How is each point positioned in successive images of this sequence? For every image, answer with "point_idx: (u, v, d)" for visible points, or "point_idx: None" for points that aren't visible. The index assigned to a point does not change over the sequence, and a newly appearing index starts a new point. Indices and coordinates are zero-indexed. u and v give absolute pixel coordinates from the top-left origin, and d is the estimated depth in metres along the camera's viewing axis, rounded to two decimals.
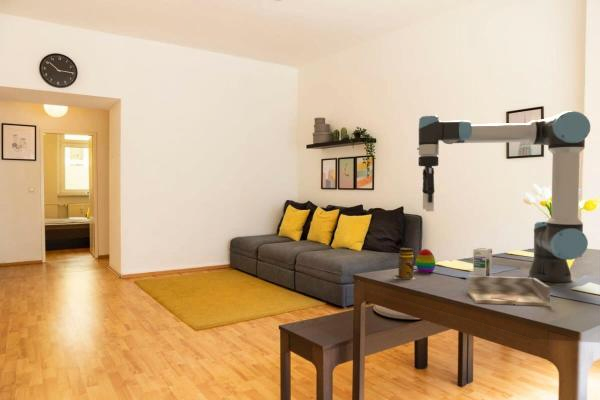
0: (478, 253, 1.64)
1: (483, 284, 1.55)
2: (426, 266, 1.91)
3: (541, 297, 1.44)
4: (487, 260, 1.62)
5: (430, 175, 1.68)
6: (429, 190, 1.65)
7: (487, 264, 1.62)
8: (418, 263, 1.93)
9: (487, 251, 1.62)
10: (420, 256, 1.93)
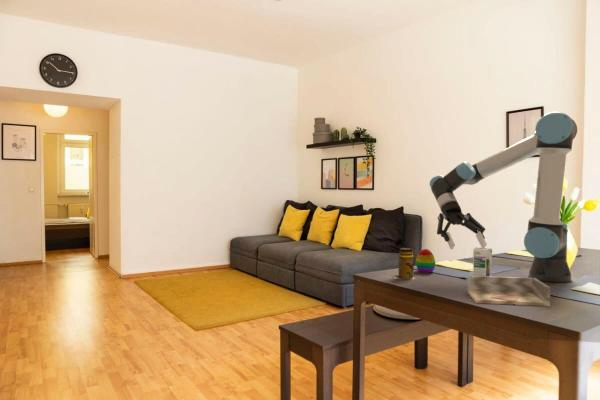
0: (478, 253, 1.64)
1: (483, 284, 1.55)
2: (426, 266, 1.91)
3: (541, 297, 1.44)
4: (487, 260, 1.62)
5: (439, 220, 1.81)
6: (437, 232, 1.77)
7: (487, 264, 1.62)
8: (418, 263, 1.93)
9: (487, 251, 1.62)
10: (420, 256, 1.93)
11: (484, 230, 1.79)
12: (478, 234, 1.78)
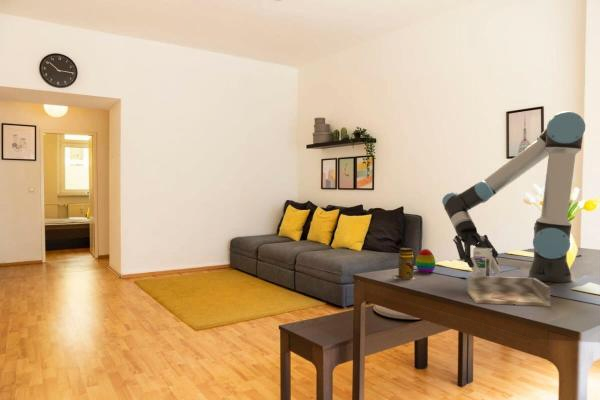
0: (478, 253, 1.64)
1: (483, 284, 1.55)
2: (426, 266, 1.91)
3: (541, 297, 1.44)
4: (487, 260, 1.62)
5: (457, 243, 1.71)
6: (460, 257, 1.67)
7: (487, 264, 1.62)
8: (418, 263, 1.93)
9: (487, 251, 1.62)
10: (420, 256, 1.93)
11: (497, 255, 1.68)
12: None
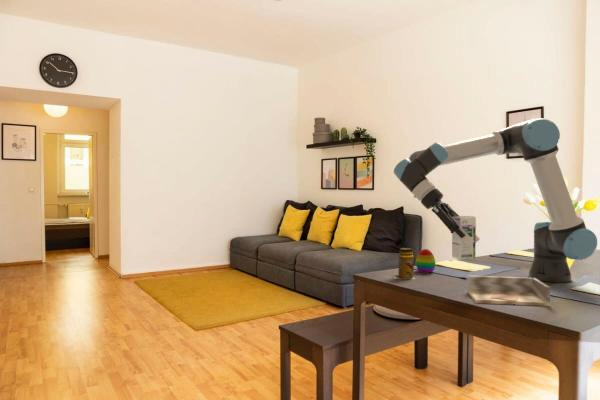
0: (465, 222, 1.51)
1: (483, 284, 1.55)
2: (426, 266, 1.91)
3: (541, 297, 1.44)
4: (474, 228, 1.51)
5: (440, 213, 1.51)
6: (450, 228, 1.49)
7: (474, 232, 1.51)
8: (418, 263, 1.93)
9: (474, 218, 1.51)
10: (420, 256, 1.93)
11: None
12: None
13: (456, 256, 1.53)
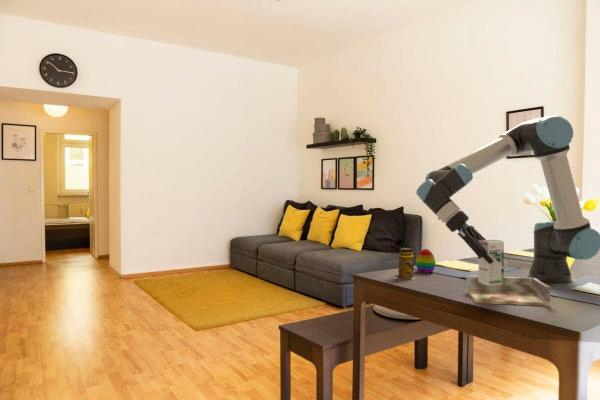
0: (493, 247, 1.45)
1: (483, 284, 1.55)
2: (426, 266, 1.91)
3: (541, 297, 1.44)
4: (502, 253, 1.46)
5: (467, 238, 1.46)
6: (478, 253, 1.43)
7: (502, 257, 1.46)
8: (418, 263, 1.93)
9: (502, 243, 1.46)
10: (420, 256, 1.93)
11: None
12: None
13: (483, 282, 1.48)
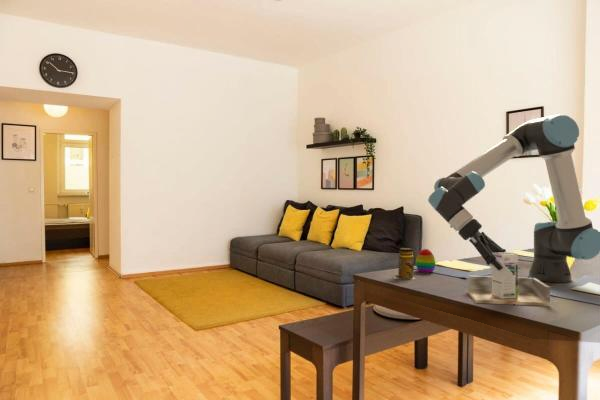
0: (507, 259, 1.44)
1: (483, 284, 1.55)
2: (426, 266, 1.91)
3: (541, 297, 1.44)
4: (516, 266, 1.45)
5: (477, 244, 1.44)
6: (487, 260, 1.40)
7: (516, 270, 1.45)
8: (418, 263, 1.93)
9: (516, 256, 1.44)
10: (420, 256, 1.93)
11: None
12: None
13: (497, 295, 1.46)
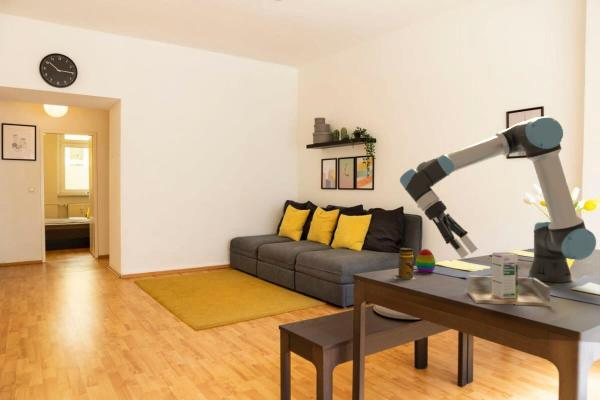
0: (507, 259, 1.44)
1: (483, 284, 1.55)
2: (426, 266, 1.91)
3: (541, 297, 1.44)
4: (516, 266, 1.45)
5: (439, 224, 1.54)
6: (446, 239, 1.50)
7: (516, 270, 1.45)
8: (418, 263, 1.93)
9: (516, 256, 1.44)
10: (420, 256, 1.93)
11: None
12: (465, 238, 1.62)
13: (497, 295, 1.46)
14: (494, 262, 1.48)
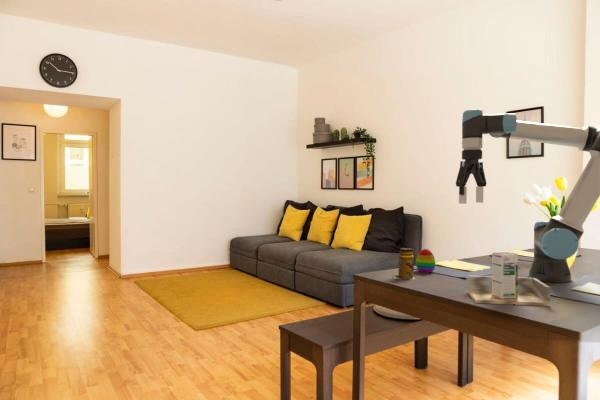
0: (507, 259, 1.44)
1: (483, 284, 1.55)
2: (426, 266, 1.91)
3: (541, 297, 1.44)
4: (516, 266, 1.45)
5: (462, 168, 1.72)
6: (457, 183, 1.71)
7: (516, 270, 1.45)
8: (418, 263, 1.93)
9: (516, 256, 1.44)
10: (420, 256, 1.93)
11: None
12: (480, 188, 1.81)
13: (497, 295, 1.46)
14: (494, 262, 1.48)
